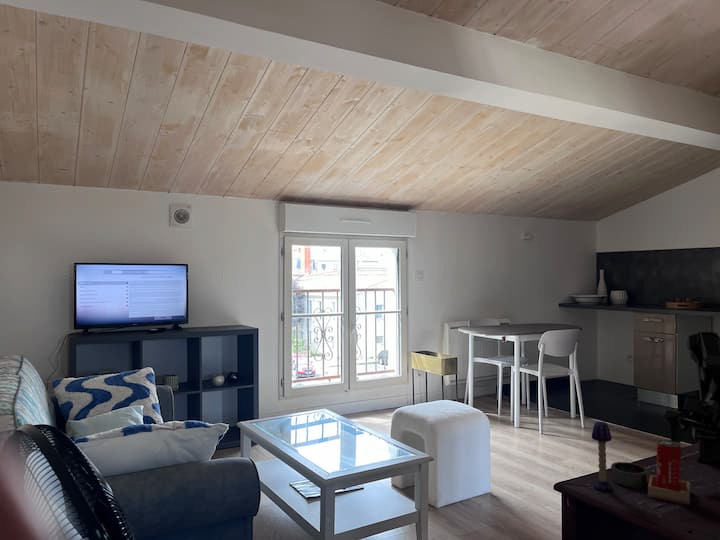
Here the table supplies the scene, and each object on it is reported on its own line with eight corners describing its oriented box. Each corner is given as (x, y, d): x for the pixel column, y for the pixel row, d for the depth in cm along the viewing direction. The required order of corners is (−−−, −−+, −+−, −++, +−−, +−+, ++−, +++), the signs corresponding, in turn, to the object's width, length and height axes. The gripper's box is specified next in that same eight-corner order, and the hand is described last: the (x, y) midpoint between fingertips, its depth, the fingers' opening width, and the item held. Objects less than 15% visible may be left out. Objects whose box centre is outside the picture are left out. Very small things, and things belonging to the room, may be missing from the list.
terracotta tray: (650, 484, 141) (650, 474, 141) (689, 491, 137) (689, 481, 137) (647, 496, 134) (647, 486, 134) (689, 504, 129) (689, 494, 129)
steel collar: (613, 472, 149) (613, 460, 149) (648, 479, 145) (648, 465, 145) (609, 483, 142) (609, 469, 142) (646, 490, 138) (646, 476, 138)
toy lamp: (604, 494, 135) (604, 426, 135) (587, 487, 139) (587, 422, 139) (615, 489, 138) (616, 423, 138) (598, 483, 142) (599, 419, 142)
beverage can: (674, 497, 132) (674, 447, 132) (652, 490, 136) (652, 442, 136) (684, 492, 135) (685, 443, 135) (663, 485, 139) (663, 438, 139)
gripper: (667, 379, 149) (640, 425, 144) (740, 393, 133) (713, 446, 128) (685, 405, 153) (659, 450, 148) (759, 422, 136) (732, 473, 131)
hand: (688, 454), depth 139 cm, fingers open, 9 cm apart
